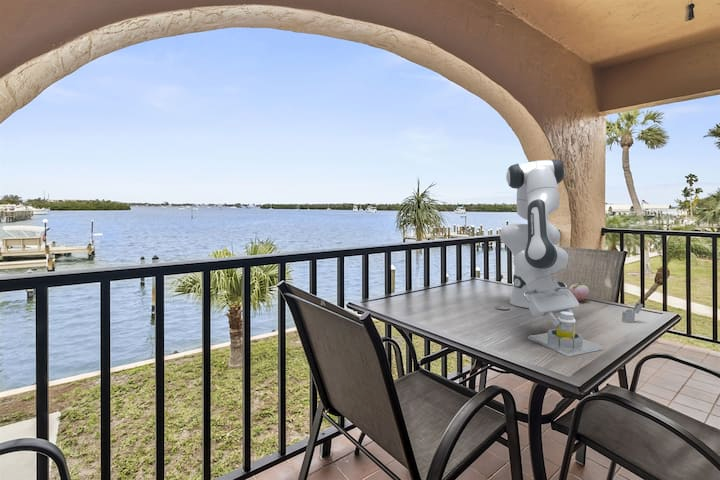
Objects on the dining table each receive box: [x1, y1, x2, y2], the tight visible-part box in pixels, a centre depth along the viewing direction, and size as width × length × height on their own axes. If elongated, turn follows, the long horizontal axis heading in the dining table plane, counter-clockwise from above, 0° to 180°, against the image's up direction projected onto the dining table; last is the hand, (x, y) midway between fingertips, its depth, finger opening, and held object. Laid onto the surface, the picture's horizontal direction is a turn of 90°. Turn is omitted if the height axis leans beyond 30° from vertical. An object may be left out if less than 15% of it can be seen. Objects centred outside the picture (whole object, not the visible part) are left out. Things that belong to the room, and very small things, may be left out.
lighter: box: [621, 302, 644, 324], centre depth 144 cm, size 7×2×8 cm, turn 91°
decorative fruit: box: [568, 281, 590, 302], centre depth 175 cm, size 9×8×10 cm
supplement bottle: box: [556, 311, 577, 339], centre depth 120 cm, size 6×6×10 cm
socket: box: [527, 328, 604, 358], centre depth 121 cm, size 16×16×4 cm
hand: (565, 323), depth 120 cm, fingers closed on supplement bottle, 6 cm apart
